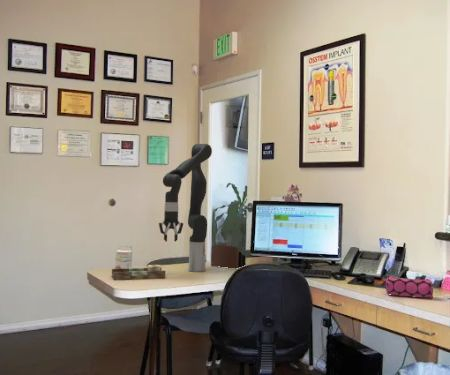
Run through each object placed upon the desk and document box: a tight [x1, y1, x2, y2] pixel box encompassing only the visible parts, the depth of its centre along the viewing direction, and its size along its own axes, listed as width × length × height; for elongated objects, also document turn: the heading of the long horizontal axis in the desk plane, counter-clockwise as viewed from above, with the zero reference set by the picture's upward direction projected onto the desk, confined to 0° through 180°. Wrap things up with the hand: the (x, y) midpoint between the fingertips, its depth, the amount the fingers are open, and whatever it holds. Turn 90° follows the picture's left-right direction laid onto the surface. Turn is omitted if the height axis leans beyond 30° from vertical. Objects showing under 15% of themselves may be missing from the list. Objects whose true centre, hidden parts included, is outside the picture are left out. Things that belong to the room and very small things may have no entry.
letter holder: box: [210, 244, 247, 269], centre depth 308 cm, size 10×20×14 cm, turn 58°
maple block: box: [147, 264, 162, 271], centre depth 268 cm, size 6×6×4 cm
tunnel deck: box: [111, 267, 166, 281], centre depth 265 cm, size 27×12×4 cm, turn 109°
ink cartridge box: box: [114, 244, 133, 269], centre depth 283 cm, size 9×5×15 cm, turn 84°
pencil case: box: [385, 274, 434, 299], centre depth 234 cm, size 21×10×10 cm, turn 75°
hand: (170, 241), depth 271 cm, fingers open, 4 cm apart
